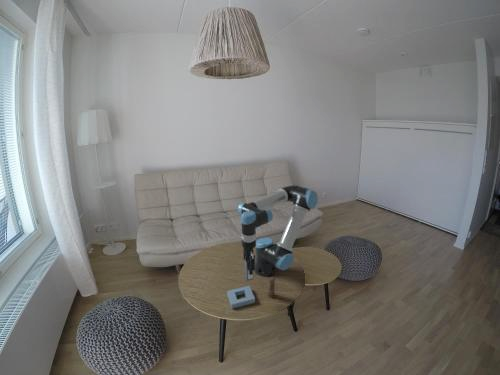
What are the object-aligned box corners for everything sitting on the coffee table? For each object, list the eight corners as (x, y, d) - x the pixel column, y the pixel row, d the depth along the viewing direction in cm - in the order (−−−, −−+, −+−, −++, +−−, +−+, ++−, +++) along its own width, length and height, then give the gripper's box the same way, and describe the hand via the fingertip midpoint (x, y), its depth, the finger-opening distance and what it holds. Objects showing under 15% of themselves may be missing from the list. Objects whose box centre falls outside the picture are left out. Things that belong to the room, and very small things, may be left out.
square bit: (250, 275, 138) (251, 257, 135) (253, 279, 135) (253, 261, 131) (244, 276, 137) (244, 258, 133) (246, 281, 133) (246, 262, 130)
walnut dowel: (272, 293, 145) (273, 276, 141) (275, 297, 142) (275, 280, 138) (267, 294, 144) (267, 278, 140) (269, 298, 141) (270, 282, 137)
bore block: (249, 289, 148) (249, 285, 147) (255, 302, 138) (255, 298, 137) (227, 294, 144) (227, 290, 143) (231, 308, 134) (231, 304, 133)
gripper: (237, 233, 135) (238, 268, 142) (247, 249, 119) (247, 287, 127) (249, 231, 137) (249, 265, 144) (261, 246, 122) (260, 283, 129)
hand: (248, 275), depth 135 cm, fingers closed on square bit, 4 cm apart
